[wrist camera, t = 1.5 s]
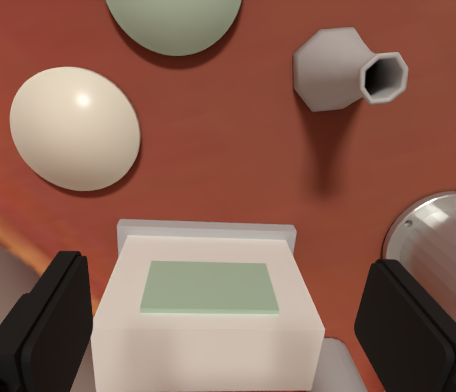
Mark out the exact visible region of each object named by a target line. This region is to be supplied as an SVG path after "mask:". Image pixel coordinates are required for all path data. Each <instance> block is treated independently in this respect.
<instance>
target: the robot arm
mask: <svg viewBox="0 0 456 392" xmlns="http://www.w3.org/2000/svg"><path fill="white" fill-rule="evenodd" d="M382 256H383V259H378V260H377V261H376V262H375V263H373V264H372V265H371V267H370V270H369V274H368V277H367V281H366V285H365V288H364V292H363V295H362V299H361V303H360V306H359V310H358V313H357V317H356V321H355V325H354V331H355V335H356V337H357V339H358V341H359V342H360V344H361V346H362V348H363V350H364V352H365V354H366V355H367V357H368V359H369V361H370V363H371V365H372V366H373V368H374V370H375V372H376V374H377V376H378V378H379V379H380V381H381V383H382V385H383V387H384V389H385V390H386V392H456V191H447V192H442V193H436V194H434V195H431V196H428V197H425V198H423V199H422V200H420V201H418V202H416V203H414V204H413V205H412V206H410V207H409V208H408V209H406V210H405V211H404V212H403V213H402V214H401V215H400V216H399V217H398V218H397V219H396V221H395V222H394V223H393V225H392V226H391V227H390V229H389V231H388V233H387V236H386V238H385V241H384V245H383V255H382ZM92 331H93V315H92V305H91V294H90V284H89V273H88V263H87V257H86V256H81V253H80V252H79V251H59V252H58V253H57V255H56V256H55V258H54V259H53V261H52V262H51V263H50V265H49V266H48V268H47V269H46V271H45V272H44V273H43V275H42V276H41V278H40V279H39V281H38V282H37V283H36V285H35V286H34V288H33V289H32V291H31V292H30V293H26V294H23V295H22V296H21V298H20V299H19V300H18V301H17V303H16V304H15V305H14V307H13V308H12V309H11V311H10V312H9V314H8V315H7V316H6V318H5V319H4V320H3V322H2V323H1V325H0V392H70V390H71V387H72V384H73V382H74V379H75V377H76V374H77V371H78V369H79V366H80V364H81V361H82V358H83V356H84V353H85V350H86V348H87V345H88V343H89V340H90V338H91V335H92Z"/></svg>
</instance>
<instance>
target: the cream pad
mask: <svg viewBox="0 0 456 392" xmlns="http://www.w3.org/2000/svg"><path fill="white" fill-rule="evenodd" d="M10 128H11V133H12V138H13V140H14V143H15V146H16V148H17V150H18V151H19V153H20V155H21V156H22V158H23V159H24V161H25V162H26V163H27V164H28V165H29V167H30V168H31V169H33V170H34V171H35V172H36V173H37V174H38V175H40V176H41V177H42V178H44V179H45V180H47V181H49V182H51V183H53V184H55V185H57V186H60V187H63V188H66V189H70V190H77V191H92V190H98V189H102V188H105V187H107V186H110V185H112V184H113V183H115V182H117V181H118V180H119V179H121V178H122V177H123V176H124V175H125V174H126V173H127V172H128V170H129V169H130V168H131V166H132V165H133V163H134V161H135V159H136V157H137V155H138V152H139V148H140V143H141V129H140V123H139V119H138V116H137V113H136V111H135V109H134V107H133V105H132V103H131V101H130V100H129V98H128V97H127V96H126V94H125V93H124V92H123V91H122V90H121V89H120V88H119V87H118V86H117V85H116V84H115V83H113V82H112V81H111V80H109V79H108V78H106V77H104V76H103V75H101V74H99V73H96V72H94V71H91V70H88V69H84V68H79V67H59V68H52V69H48V70H45V71H42V72H40V73H38V74H36V75H34V76H33V77H31V78H30V79H28V80H27V81H26V82H25V83H24V84H23V85H22V87H21V88H20V89H19V90H18V92H17V94H16V96H15V98H14V100H13V103H12V106H11V111H10Z"/></svg>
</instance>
